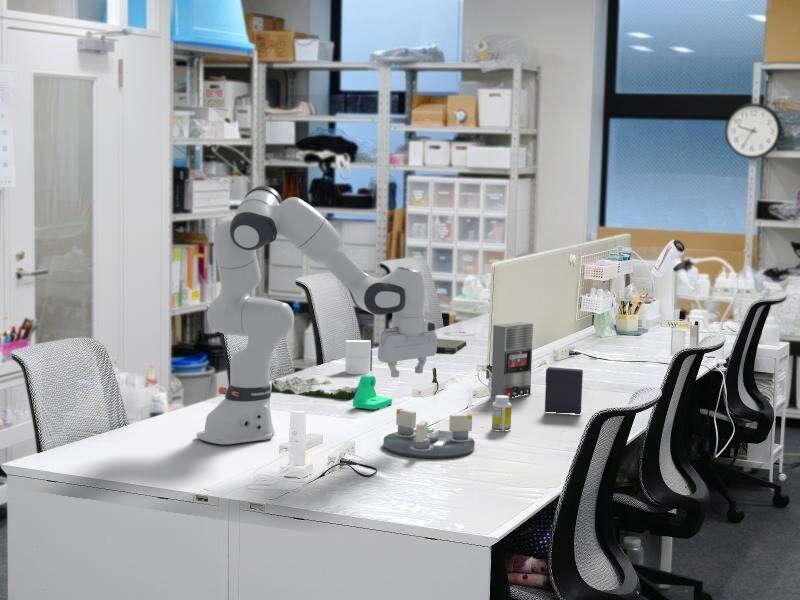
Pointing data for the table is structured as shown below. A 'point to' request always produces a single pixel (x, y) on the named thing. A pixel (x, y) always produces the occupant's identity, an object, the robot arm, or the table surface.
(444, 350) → the network switch
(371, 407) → the camera mount
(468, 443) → the tribrach disc
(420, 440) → the knob left
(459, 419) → the knob right
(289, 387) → the topographic map model
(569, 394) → the calculator
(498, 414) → the supplement bottle
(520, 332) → the cassette tape recorder
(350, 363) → the white cylinder
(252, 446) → the table surface
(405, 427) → the cream block orange corner
